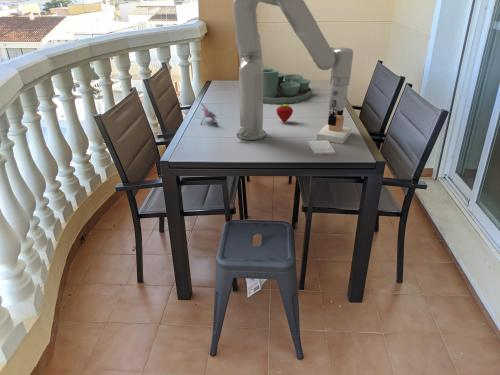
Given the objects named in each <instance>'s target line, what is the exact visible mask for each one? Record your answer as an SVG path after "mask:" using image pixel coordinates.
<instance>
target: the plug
mask: <svg viewBox="0 0 500 375" xmlns="http://www.w3.org/2000/svg"><path fill="white" fill-rule="evenodd" d="M336 116H337V119H336V125H335V126H332V125H329V129H328V130H332V131H341V130H342V129H343V126H344V119H345V116H344V115H343V116H341V115H336Z"/></svg>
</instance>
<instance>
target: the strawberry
mask: <svg viewBox="0 0 500 375" xmlns="http://www.w3.org/2000/svg"><path fill="white" fill-rule="evenodd" d="M293 112H294V110H293V108H292V106H291V104H289V103H286V104H280V105H279V106H278V107H277V108H276V114H277V116H278V117H279V119H280V120H281V121H282V123H286V122H287V121H288V120H289V119H290V118H291V117H292V115H293Z"/></svg>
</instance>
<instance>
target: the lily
mask: <svg viewBox="0 0 500 375" xmlns="http://www.w3.org/2000/svg"><path fill="white" fill-rule="evenodd" d="M198 102H199V103H200V105H201V106H202V107H203V108H202V109H201V110H202V112H203V114H204V116H203V118H202V120H201V121H200V125H202V123H203V122H204V119H205V118H211V119H212V120H213V121H215V122H216V123H218V121H217V120H216V118H217V115H216V114H215V113H213V112H212V111H211V110H209V109H208V108H207V107H206V106H205V105H204V104H203V103H202V102H201V101H200V100H199V101H198Z"/></svg>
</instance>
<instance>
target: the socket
mask: <svg viewBox="0 0 500 375" xmlns="http://www.w3.org/2000/svg"><path fill="white" fill-rule="evenodd" d="M328 129H329V125H328V123H326V124H325V125H324V126H323V127H322V128H321V129H320V130H318V132H317V133H316V137H315V138H316V140H315V141H321V140H328V141H329V143H334V144H340V145H341V144H342V145H343V144H344V143H345V142H346V140H347V139H348V138H349V137H350V136H351V134H352V131H353V130H352V129H353V127H351V126H345V125H343V129H342V130H341V131H332V130H328ZM348 136H349V137H348Z"/></svg>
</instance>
